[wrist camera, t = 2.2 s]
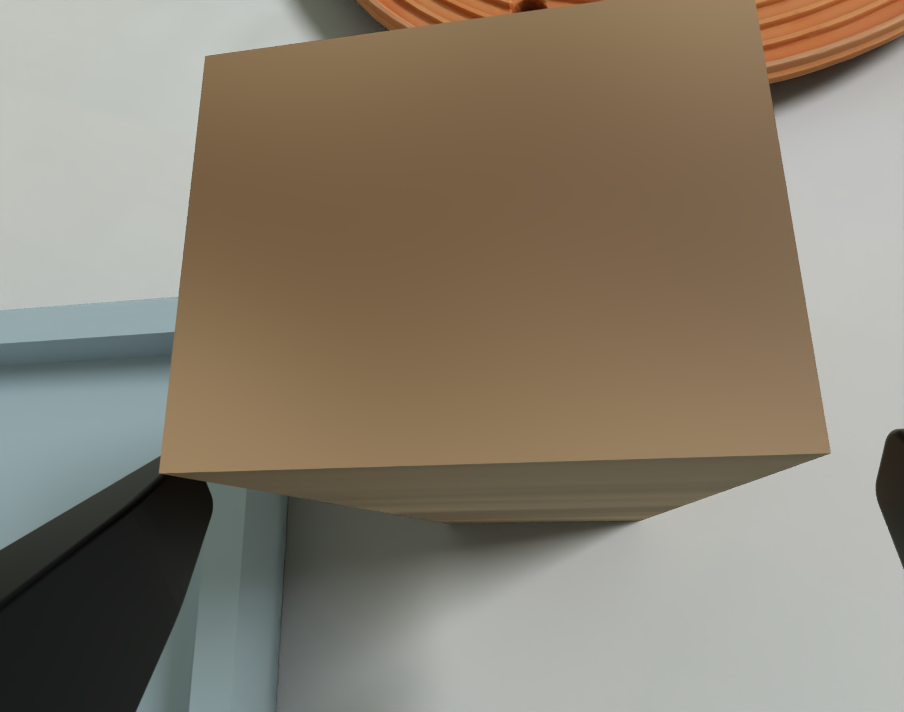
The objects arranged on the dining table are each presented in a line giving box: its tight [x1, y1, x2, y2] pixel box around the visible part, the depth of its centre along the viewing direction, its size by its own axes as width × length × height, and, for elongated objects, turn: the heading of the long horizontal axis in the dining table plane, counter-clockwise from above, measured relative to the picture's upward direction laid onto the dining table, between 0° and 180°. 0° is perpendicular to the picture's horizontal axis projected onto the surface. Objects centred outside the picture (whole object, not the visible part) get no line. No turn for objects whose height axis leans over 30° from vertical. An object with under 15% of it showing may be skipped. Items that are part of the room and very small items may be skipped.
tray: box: [0, 297, 288, 712], centre depth 18 cm, size 14×14×2 cm
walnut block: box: [159, 0, 831, 524], centre depth 12 cm, size 4×5×13 cm
